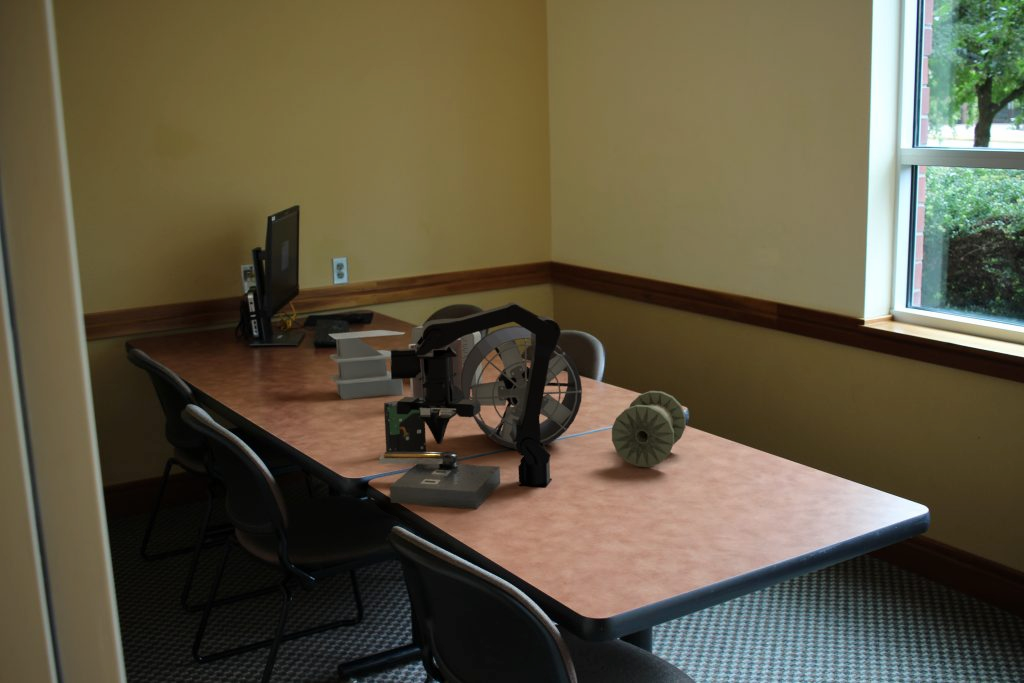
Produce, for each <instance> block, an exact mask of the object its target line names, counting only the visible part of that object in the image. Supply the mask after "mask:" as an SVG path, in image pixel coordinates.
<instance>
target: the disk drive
mask: <svg viewBox="0 0 1024 683" xmlns="http://www.w3.org/2000/svg"><path fill="white" fill-rule="evenodd" d="M419 399H420V402H423V401H424V399H422V398H419ZM398 401H399V400H393V401H386V402H383V404H384V405H383V408H384V409H383V411H384V412H383V413H384V414H383V415H384V429H385V432H384V433H385V449H386V450H385V452H427V440H426V439H427V438H426V423H425V421H424V420H423V419H420V418H419V416H420V415H421V410H412V411H411V412H410V413H409V414H408V415H407V414H396V408H395V406H396V403H397V402H398Z"/></svg>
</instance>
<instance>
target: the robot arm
mask: <svg viewBox="0 0 1024 683" xmlns="http://www.w3.org/2000/svg"><path fill="white" fill-rule="evenodd" d="M510 323H515V324H517V325H518V326H522V327H524V328H525V329H527V330H529V331H530V332H531V339H530V344H531V359H530V361H531V362H530V366H529V368H530V370H529V376H528V380H527V387H526V393H525V399H524V404H523V410H522V414H521V416H520V417H519V419H518V420H516V419H512V430H511V432H510V434H509V435H510V436H511V438H512V442H513V444H514V446H515V448H516V449H515V450H516V452H517V453H518V454H519V455H520V456H522V458H521V459H520V460H519V461H520V462H519V463H520V464H519V465H518V483H519V484H518V486H519V487H525V488H541V489H542V488H543V489H546V488H547V487H548V486H549V485H550V483H551V482H552V481H553V479H552V478H551V469H550V468H551V467H550V457H551V454H550V452H549V450H548V449H547V447H546V445H544V444H542V443H541V442H540V435H541V433H540V423H541V422H540V417H541V416H540V415H541V414H540V411H541V405H542V400H543V396H544V395H545V394H544V392H545V387H546V386H545V383H546V377H547V372H548V366H549V361H550V360H551V357H552V356H553V354H554V351H555V350H556V348H557V347H556V346H557V345H558V342H559V339H560V337H561V327H560V325H559V324H558V322H556V321H555V320H554V319H552V318H551V316H547V315H540V316H539V315H537V314H535V313H534V312H532V311H530V310H528V309H526V308H524V307H523V306H521V305H520V304H518V303H517V302H514V301H513V302H512V301H511V302H509V303H507V304H504V305H501V306H498V307H494V308H490V309H488V310H484V311H480V312H476V313H472V314H469V315H465V316H463V317H458V318H440V319H431V320H429V321H426V322H425V323H424V324H423V325H422V326H423V328H422V331H421V334H422V336H421V337H420V339H419V340H418V342H417V343H416V345H415V346H414V349H409V348H402V349H401V348H391V349H390V351H391V358H390V362H389V364H390V366H389V367H390V372H391V379H402V380H404V379H405V380H406V379H410V378H416V375H418V373H421V364H420V359H423V368H424V383H422V388H424V389H425V400H424V401H423V402H420V399H419V397H411V396H405V397H403V398H401V399H400V400H397V401H398V402H397V403H396V406H395V408H396V414H407V415H408V414H409V413H410V412H411V411H412V410H421V415H420V416H419V418H420V419H423V420H424V421H425V425H426V426H427V427H428V429H429V430H430V432H431V434H432V436H433V438H434V441H435V442H436V444H437V445H441V444H442V443H443V441H444V437H445V434H446V431H447V428H448V425H449V423H450V420H451V419H453V417H455V416H456V415H457V416H458V417H460V418H474V416H475V415H476V416H477V415H479V414H478V413H479V412H481V410H482V409H481V406H480V402H479V401H478V400H472V399H463V400H462V401H460V402H459V403H450V402H451V401H458V389H459V387H456V386H453V385H452V381H451V379H449V360H448V357H456V356H457V354H456V352H455V351H454V350H452V349H451V347H450V346H449V344H451V343H453V342H454V341H456V340H458V339H459V338H461V337H463V336H465V335H468V334H472V333H475V332H482V331H485V330H489V329H493V328H496V327H501V326H503V325H506V324H510ZM447 345H448V346H447ZM444 346H447V347H446V348H445V349H440V348H442V347H444ZM433 349H437V350H433ZM431 350H433V352H432V353H429V352H430V351H431ZM427 353H429V354H427ZM430 406H435V407H430ZM442 406H443V407H442Z"/></svg>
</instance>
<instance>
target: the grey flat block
mask: <svg viewBox="0 0 1024 683" xmlns="http://www.w3.org/2000/svg"><path fill="white" fill-rule="evenodd" d="M500 484H501V467H500V466H496V465H494V466H493V465H477V464H462V463H461V464H460V463H458V465H457V466H456V467H452V468H442V467H439V464H414V465H413V467H412V468H410V469H409V470H408V471H406V472H405V473H404V474H403V475H402V476H401V477H399V478H398V479H397V480H396V481H394V482H393V483H391V484H390V486H389V491H390V503H393V504H402V505H404V504H405V505H414V506H425V507H437V508H438V507H439V508H440V507H441V508H453V509H469V510H470V509H471V510H477V509H478V508H479V507H480V506H481V505H482V504H483V503H484V502H485V500H487V498H488V497H489V496H490V495H491V494H492V493H493V492H494V491H495V490H496V489H497V487H498V486H499V485H500Z"/></svg>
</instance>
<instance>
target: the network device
mask: <svg viewBox="0 0 1024 683" xmlns="http://www.w3.org/2000/svg"><path fill="white" fill-rule="evenodd" d="M423 326H424V325H419V326H417V327H416V326H415V327H413V328H412V330H411V344H416V343H417V342H418V340H419V339H420V337H421V336H422V334H421V331H422V328H423ZM459 339H461V346H462V369H463V365H464V362H465V360H466V358H467V356H468V354H469V352H470V351H471V350H472V348H473V347H474V346H475V344H476V343H477V342H479V341H480V340H481V339H482V335H481V331H479V332H475V333H472V334H468V335H465V336H463V337H461V338H459ZM482 370H483V361H482V362H481V363H480V365H479V366H478V368H477V370H476V372H475V374H474V376H473V379H472V383H471V387H470V388H472V385H475V384H477V381H478V378H479V376H480V374H481V372H482ZM482 383H483V374H482V375H481V377H480V380H479V384H482Z"/></svg>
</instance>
